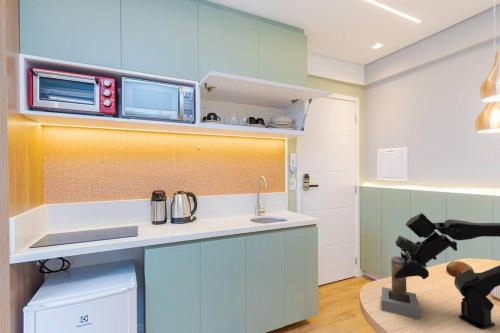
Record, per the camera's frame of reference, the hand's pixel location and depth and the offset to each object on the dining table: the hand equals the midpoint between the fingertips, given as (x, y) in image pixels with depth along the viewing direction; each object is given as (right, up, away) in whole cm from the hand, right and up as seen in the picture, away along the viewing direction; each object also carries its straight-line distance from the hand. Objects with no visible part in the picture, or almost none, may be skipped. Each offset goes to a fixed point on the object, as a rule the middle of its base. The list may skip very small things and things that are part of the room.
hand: (394, 274), depth 90 cm
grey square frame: (+1, -11, -1) cm, 11 cm away
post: (+1, -7, -1) cm, 7 cm away
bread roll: (+45, -12, +25) cm, 53 cm away
